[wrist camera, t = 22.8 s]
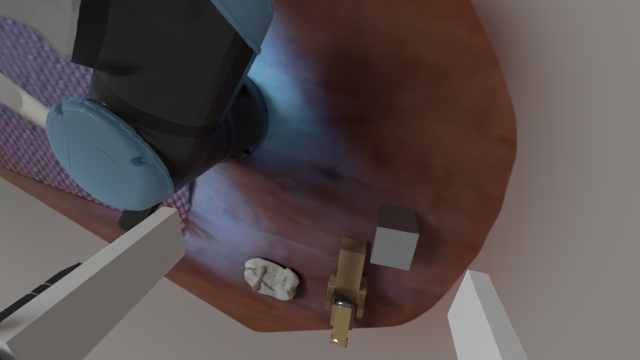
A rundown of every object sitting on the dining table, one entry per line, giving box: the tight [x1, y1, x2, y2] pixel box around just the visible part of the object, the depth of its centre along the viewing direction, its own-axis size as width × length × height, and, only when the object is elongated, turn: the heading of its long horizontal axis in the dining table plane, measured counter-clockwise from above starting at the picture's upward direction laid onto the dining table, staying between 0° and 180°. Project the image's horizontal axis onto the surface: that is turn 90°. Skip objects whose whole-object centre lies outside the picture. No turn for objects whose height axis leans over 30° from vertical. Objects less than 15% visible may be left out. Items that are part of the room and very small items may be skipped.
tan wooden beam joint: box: [325, 236, 367, 330], centre depth 51 cm, size 7×20×7 cm, turn 175°
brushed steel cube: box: [370, 203, 419, 270], centre depth 44 cm, size 6×7×7 cm
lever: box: [330, 299, 356, 347], centre depth 51 cm, size 4×2×11 cm
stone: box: [244, 258, 299, 300], centre depth 57 cm, size 12×9×3 cm
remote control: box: [118, 205, 155, 232], centre depth 59 cm, size 5×2×15 cm
